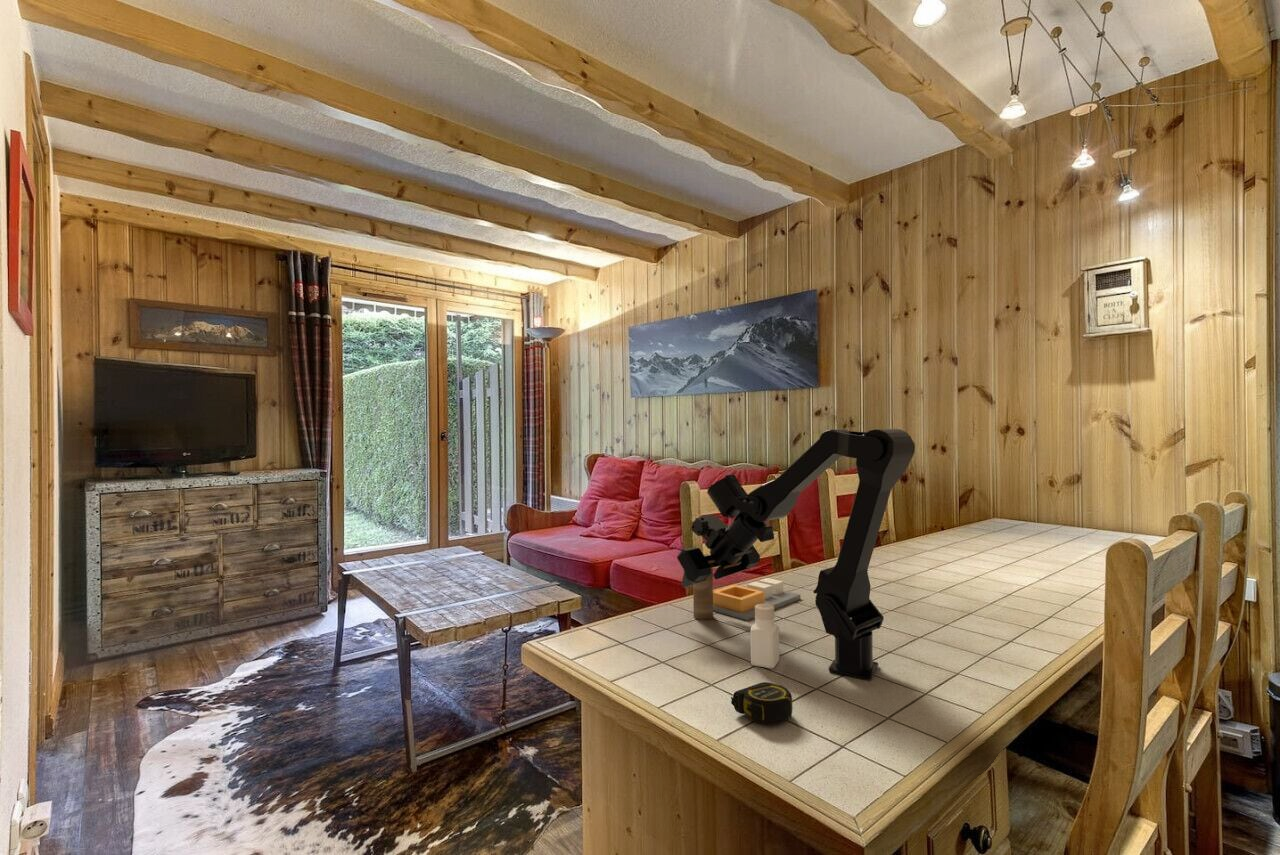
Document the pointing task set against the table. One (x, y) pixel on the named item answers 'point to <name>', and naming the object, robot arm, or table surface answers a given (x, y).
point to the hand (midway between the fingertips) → (699, 581)
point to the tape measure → (764, 703)
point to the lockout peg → (703, 598)
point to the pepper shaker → (764, 637)
